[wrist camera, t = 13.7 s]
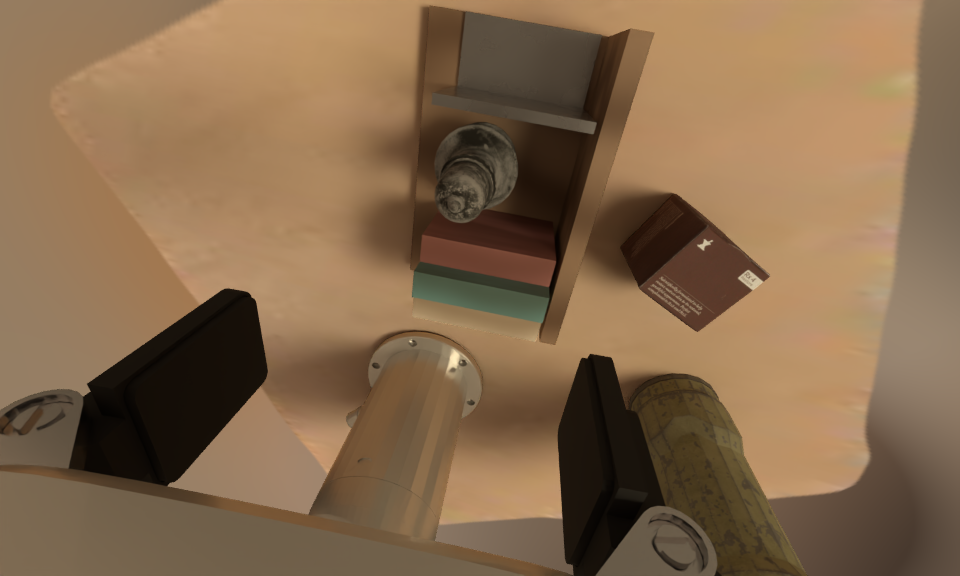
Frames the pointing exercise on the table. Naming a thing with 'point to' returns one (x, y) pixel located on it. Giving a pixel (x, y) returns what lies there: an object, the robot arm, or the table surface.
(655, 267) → the box
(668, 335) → the table surface
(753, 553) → the robed figure statue
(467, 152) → the dark grey chess piece
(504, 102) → the bookend
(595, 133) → the shelf
